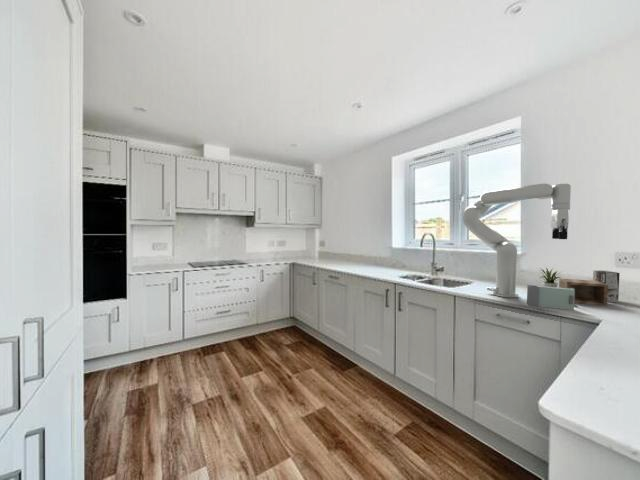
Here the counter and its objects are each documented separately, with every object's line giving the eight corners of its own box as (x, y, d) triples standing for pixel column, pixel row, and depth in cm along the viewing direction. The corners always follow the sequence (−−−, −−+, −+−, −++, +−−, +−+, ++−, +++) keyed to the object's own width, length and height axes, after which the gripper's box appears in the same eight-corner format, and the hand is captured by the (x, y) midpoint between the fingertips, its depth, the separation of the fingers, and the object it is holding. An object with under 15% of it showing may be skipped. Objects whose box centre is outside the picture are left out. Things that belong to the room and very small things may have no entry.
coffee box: (619, 302, 144) (620, 272, 144) (604, 301, 146) (606, 272, 145) (604, 298, 153) (606, 270, 153) (591, 297, 154) (592, 270, 154)
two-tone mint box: (528, 305, 137) (529, 286, 136) (526, 303, 140) (527, 285, 140) (574, 310, 129) (575, 290, 128) (571, 308, 132) (572, 288, 132)
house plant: (527, 290, 173) (528, 265, 173) (542, 288, 178) (543, 264, 177) (552, 295, 160) (553, 268, 159) (567, 293, 164) (568, 267, 163)
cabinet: (569, 306, 136) (570, 284, 136) (555, 296, 156) (555, 278, 156) (617, 311, 128) (618, 288, 128) (596, 300, 148) (596, 280, 148)
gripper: (546, 208, 153) (545, 238, 154) (557, 206, 138) (556, 239, 138) (562, 208, 150) (561, 238, 151) (576, 205, 134) (575, 239, 135)
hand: (559, 238), depth 144 cm, fingers open, 9 cm apart
